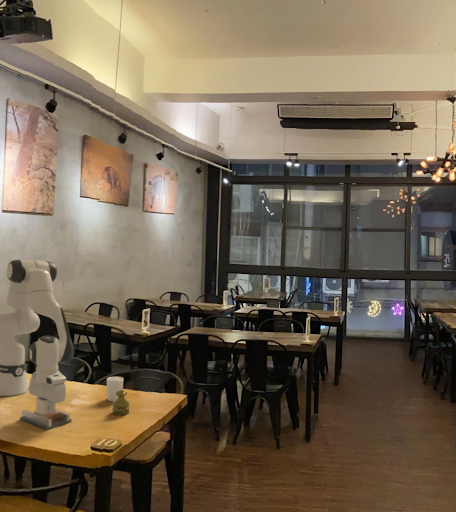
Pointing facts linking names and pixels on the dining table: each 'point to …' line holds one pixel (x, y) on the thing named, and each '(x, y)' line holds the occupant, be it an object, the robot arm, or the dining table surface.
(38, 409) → the block
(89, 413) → the dining table surface
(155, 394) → the dining table surface
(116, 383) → the white cup
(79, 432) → the dining table surface
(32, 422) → the rail plate
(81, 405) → the dining table surface
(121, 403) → the olive green tiered piece
